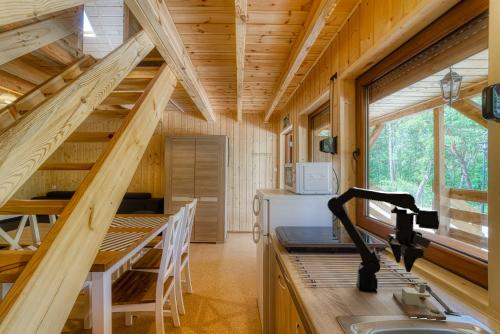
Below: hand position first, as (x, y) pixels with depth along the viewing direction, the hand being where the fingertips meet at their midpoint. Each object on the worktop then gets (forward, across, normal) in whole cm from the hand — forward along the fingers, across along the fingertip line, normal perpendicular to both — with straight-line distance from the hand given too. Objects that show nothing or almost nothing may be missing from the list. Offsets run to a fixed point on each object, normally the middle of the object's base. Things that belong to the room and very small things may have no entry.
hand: (402, 267), depth 98 cm
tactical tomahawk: (+11, -1, -13) cm, 18 cm away
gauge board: (+11, -8, -2) cm, 14 cm away
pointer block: (+9, -8, -2) cm, 12 cm away
